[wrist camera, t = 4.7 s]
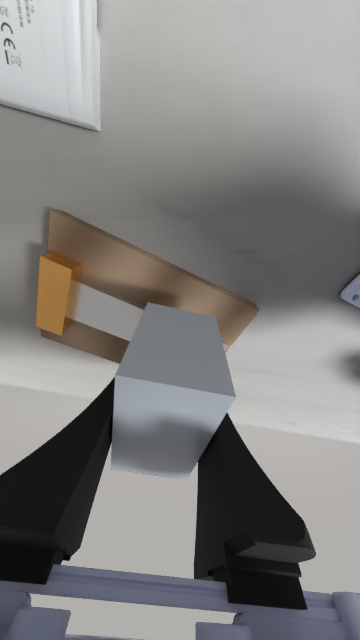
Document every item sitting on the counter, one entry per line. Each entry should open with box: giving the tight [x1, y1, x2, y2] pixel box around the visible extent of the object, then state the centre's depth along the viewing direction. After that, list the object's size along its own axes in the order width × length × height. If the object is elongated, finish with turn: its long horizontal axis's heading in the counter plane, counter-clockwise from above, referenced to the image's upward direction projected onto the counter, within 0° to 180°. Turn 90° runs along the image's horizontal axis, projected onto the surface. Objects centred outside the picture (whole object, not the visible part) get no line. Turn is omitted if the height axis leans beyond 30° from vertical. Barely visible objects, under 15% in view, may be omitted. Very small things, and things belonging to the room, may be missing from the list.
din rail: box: [36, 251, 229, 351], centre depth 15 cm, size 15×6×2 cm, turn 65°
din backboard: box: [41, 210, 259, 364], centre depth 16 cm, size 16×11×1 cm
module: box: [111, 302, 236, 480], centre depth 11 cm, size 4×8×6 cm, turn 168°
